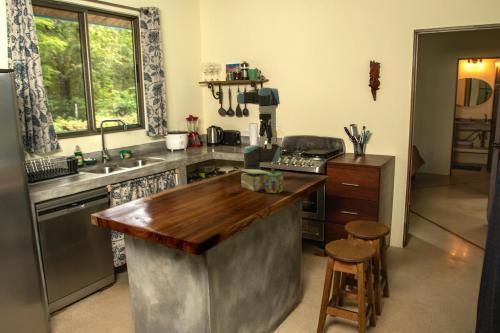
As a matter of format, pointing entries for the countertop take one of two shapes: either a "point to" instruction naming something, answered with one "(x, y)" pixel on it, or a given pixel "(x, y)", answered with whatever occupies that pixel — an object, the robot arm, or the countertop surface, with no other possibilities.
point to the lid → (254, 171)
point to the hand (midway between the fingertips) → (265, 147)
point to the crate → (253, 181)
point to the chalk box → (273, 182)
